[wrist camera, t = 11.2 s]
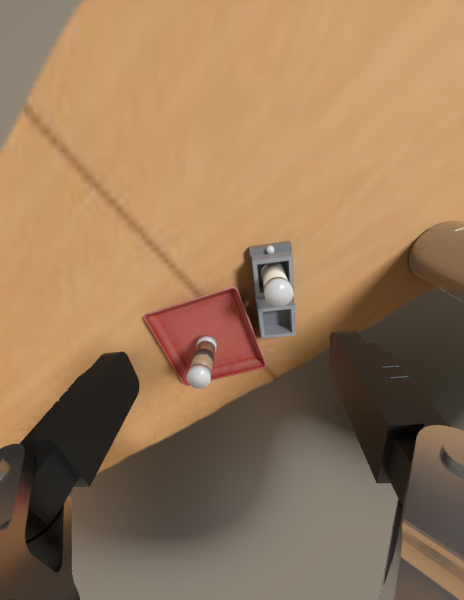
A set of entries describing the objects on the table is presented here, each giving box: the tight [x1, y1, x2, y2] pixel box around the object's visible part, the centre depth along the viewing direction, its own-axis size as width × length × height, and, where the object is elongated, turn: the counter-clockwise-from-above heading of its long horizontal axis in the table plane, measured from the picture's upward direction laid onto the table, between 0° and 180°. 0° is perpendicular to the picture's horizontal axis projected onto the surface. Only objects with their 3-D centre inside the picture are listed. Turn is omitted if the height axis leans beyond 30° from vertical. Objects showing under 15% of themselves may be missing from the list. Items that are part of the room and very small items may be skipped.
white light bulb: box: [261, 262, 293, 307], centre depth 33 cm, size 4×4×9 cm
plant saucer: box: [144, 287, 267, 386], centre depth 44 cm, size 18×18×3 cm
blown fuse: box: [186, 335, 217, 388], centre depth 39 cm, size 4×4×9 cm
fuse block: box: [249, 241, 296, 338], centre depth 38 cm, size 6×16×4 cm, turn 9°
